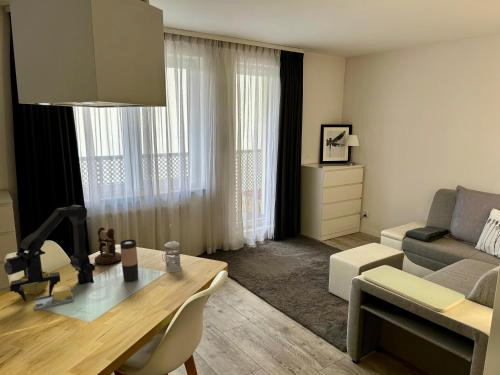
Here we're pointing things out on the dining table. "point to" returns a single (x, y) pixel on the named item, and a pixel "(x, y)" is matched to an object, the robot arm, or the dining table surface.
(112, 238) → the brown sculpture
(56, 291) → the ochre block
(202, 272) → the dining table surface
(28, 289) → the flower pot
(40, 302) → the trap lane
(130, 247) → the travel mug
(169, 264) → the french press
